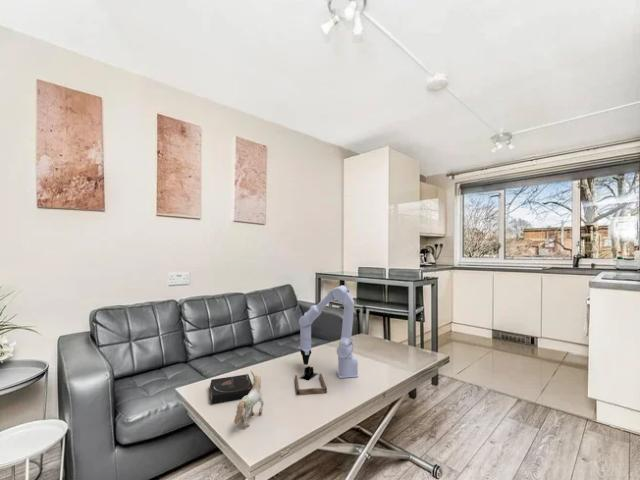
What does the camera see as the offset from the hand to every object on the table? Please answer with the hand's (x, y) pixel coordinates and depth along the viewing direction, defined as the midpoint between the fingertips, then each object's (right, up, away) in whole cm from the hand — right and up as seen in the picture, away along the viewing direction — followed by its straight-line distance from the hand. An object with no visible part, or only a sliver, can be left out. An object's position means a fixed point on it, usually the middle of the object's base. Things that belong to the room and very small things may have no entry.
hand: (305, 364), depth 157 cm
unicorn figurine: (-20, 0, -46) cm, 51 cm away
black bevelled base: (+2, -3, -9) cm, 10 cm away
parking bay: (+3, -1, -21) cm, 21 cm away
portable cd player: (-32, -2, -27) cm, 41 cm away
